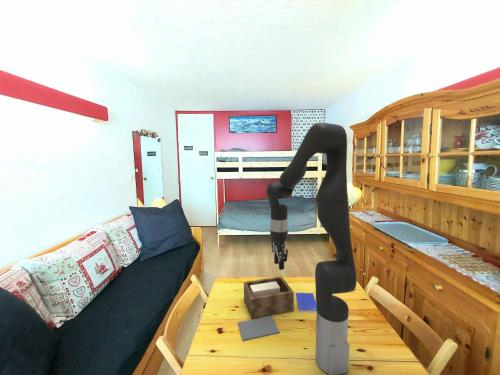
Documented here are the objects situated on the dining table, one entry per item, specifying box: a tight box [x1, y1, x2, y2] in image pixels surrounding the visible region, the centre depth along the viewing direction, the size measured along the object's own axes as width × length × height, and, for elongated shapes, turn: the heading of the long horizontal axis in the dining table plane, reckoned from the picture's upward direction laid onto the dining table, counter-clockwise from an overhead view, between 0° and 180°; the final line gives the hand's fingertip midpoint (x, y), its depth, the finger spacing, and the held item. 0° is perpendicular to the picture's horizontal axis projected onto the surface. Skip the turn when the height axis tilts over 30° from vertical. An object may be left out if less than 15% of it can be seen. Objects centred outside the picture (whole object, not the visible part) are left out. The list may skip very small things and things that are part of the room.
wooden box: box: [243, 275, 295, 320], centre depth 100 cm, size 18×13×9 cm
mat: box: [237, 315, 281, 342], centre depth 87 cm, size 9×14×1 cm, turn 104°
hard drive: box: [295, 292, 317, 314], centre depth 102 cm, size 2×8×12 cm
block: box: [250, 281, 280, 297], centre depth 100 cm, size 12×5×5 cm, turn 104°
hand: (279, 266), depth 100 cm, fingers open, 5 cm apart
